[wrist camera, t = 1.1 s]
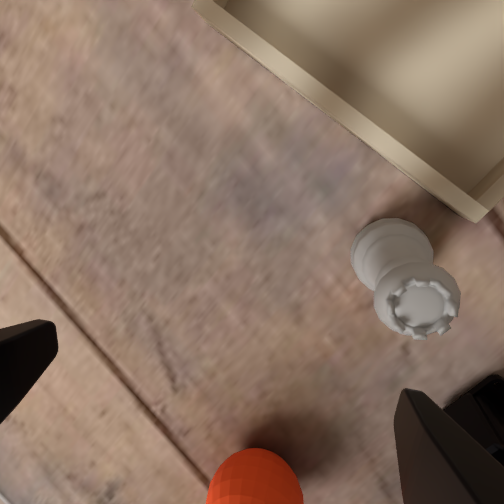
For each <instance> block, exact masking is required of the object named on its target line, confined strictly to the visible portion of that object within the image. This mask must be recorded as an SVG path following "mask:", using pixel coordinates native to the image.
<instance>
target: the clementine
mask: <svg viewBox="0 0 504 504" xmlns="http://www.w3.org/2000/svg"><path fill="white" fill-rule="evenodd" d="M206 504H304V503H303V494H302V491H301V488H300V485H299V482H298V479H297V477H296V475H295V473H294V472H293V471H292V469H291V468H290V466H289V465H288V464H287V463H286V462H285V461H284V460H283V459H282V458H281V457H280V456H278V455H277V454H275V453H273V452H271V451H268V450H266V449H261V448H248V449H245V450H242V451H240V452H237V453H234V454H233V455H231V456H230V457H229V458H227V459H226V460H225V461H224V462H223V463H222V464H221V465H220V467H219V468H218V470H217V471H216V473H215V475H214V477H213V479H212V481H211V482H210V486H209V491H208V495H207V500H206Z"/></svg>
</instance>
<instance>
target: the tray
mask: <svg viewBox="0 0 504 504" xmlns="http://www.w3.org/2000/svg"><path fill="white" fill-rule="evenodd" d="M192 8H193V9H194V10H195V11H196V12H197V13H198V15H199V16H200V17H201V18H202V19H203V20H204V21H205V22H206V23H207V24H208V25H210V26H211V27H212V28H214V29H215V30H216V31H218V32H219V33H220V34H222V35H223V36H224V37H225V38H227V39H228V40H229V41H231V42H232V43H233V44H235V45H236V46H237V47H239V48H240V49H241V50H243V51H244V52H245V53H246V54H248V55H249V56H250V57H252V58H253V59H254V60H256V61H257V62H258V63H260V64H261V65H262V66H264V67H265V68H266V69H267V70H269V71H270V72H271V73H273V74H274V75H275V76H277V77H278V78H279V79H281V80H282V81H283V82H285V83H286V84H287V85H289V86H290V87H291V88H292V89H294V90H295V91H296V92H298V93H299V94H300V95H302V96H303V97H304V98H306V99H307V100H308V101H310V102H311V103H312V104H313V105H315V106H316V107H317V108H319V109H320V110H321V111H323V112H324V113H325V114H327V115H328V116H329V117H331V118H332V119H333V120H334V121H336V122H337V123H338V124H340V125H341V126H342V127H344V128H345V129H346V130H348V131H349V132H350V133H352V134H353V135H354V136H355V137H357V138H358V139H359V140H361V141H362V142H363V143H365V144H366V145H367V146H369V147H370V148H371V149H373V150H374V151H375V152H377V153H378V154H379V155H380V156H382V157H383V158H384V159H386V160H387V161H388V162H390V163H391V164H392V165H394V166H395V167H396V168H398V169H399V170H400V171H401V172H403V173H404V174H405V175H407V176H408V177H409V178H411V179H412V180H413V181H415V182H416V183H417V184H419V185H420V186H421V187H422V188H424V189H425V190H426V191H428V192H429V193H430V194H432V195H433V196H434V197H436V198H437V199H438V200H440V201H441V202H442V203H444V204H445V205H446V206H447V207H449V208H450V209H451V210H453V211H454V212H455V213H457V214H458V215H459V216H461V217H463V218H465V219H467V220H469V221H472V222H474V223H477V222H478V221H479V220H480V219H481V218H482V217H484V216H485V215H486V214H487V213H488V212H489V211H490V210H491V209H492V208H493V207H494V206H495V205H496V204H497V203H498V202H499V201H500V200H501V199H502V198H503V197H504V0H195V1H194V3H193V5H192Z"/></svg>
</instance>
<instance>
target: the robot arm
mask: <svg viewBox="0 0 504 504" xmlns="http://www.w3.org/2000/svg"><path fill="white" fill-rule="evenodd" d="M57 352H58V340H57V332H56V326H55V324H54V323H53V322H51V321H46V320H41V319H37V320H33V321H29V322H25V323H21V324H17V325H14V326H10V327H6V328H2V329H0V424H1V423H2V422H3V421H4V420H5V419H6V418H7V416H8V415H9V414H10V413H11V412H12V411H13V410H14V409H15V408H16V406H17V405H18V404H19V403H20V402H21V400H22V399H23V398H24V397H25V395H26V394H27V393H28V391H29V390H30V389H31V388H32V386H33V385H34V384H35V383H36V381H37V380H38V379H39V377H40V376H41V375H42V374H43V372H44V371H45V370H46V368H47V367H48V366H49V365H50V363H51V362H52V361H53V360H54V358H55V357H56V355H57ZM496 382H499V384H498V385H493V384H494V383H496ZM394 432H395V440H396V449H397V457H398V465H399V473H400V481H401V489H402V496H403V501H404V504H504V378H502V377H501V376H499V375H491V376H489V377H487V378H486V379H485V380H483V381H482V382H481V383H479V384H478V385H477V386H475V387H474V388H473V389H471V390H470V391H469V392H467V393H466V394H465V395H463V396H462V397H461V398H459V399H458V400H457V401H455V402H454V403H453V404H451V405H450V406H449V407H447V408H446V409H445V410H442V409H441V408H440V407H439V406H438V405H437V404H436V403H434V402H433V401H432V400H431V399H430V398H429V397H428V396H427V395H426V394H425V393H423V392H422V391H418V390H413V389H407V388H405V389H403V390H402V391H401V394H400V397H399V401H398V404H397V408H396V412H395V416H394Z"/></svg>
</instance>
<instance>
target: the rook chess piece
mask: <svg viewBox="0 0 504 504" xmlns="http://www.w3.org/2000/svg"><path fill="white" fill-rule="evenodd" d="M433 252H434V251H433V249H432V246H431V244H430V242H429V239H428V237H427V236H426V235H425V233H424V232H423V231H422V230H421V229H419V228H418V227H417V226H416V225H415V224H414V223H412V222H409V221H406V220H403V219H400V218H386V219H380V220H378V221H375V222H373V223H371V224H368V225H367V226H366V227H365V228H364V229H363V230H362V231H361V232H360V233H359V234H358V235H356V238H355V240H354V242H353V245H352V247H351V264H352V266H353V268H354V270H355V273H356V275H357V277H358V279H359V280H360V281H361V282H362V283H363V284H364V285H366V286H367V287H368V288H369V289H370V290H373V291H374V308H375V310H376V312H377V315H378V317H379V319H380V320H381V321H382V322H383V323H384V324H385V325H386V326H388V327H389V328H390V329H391V330H393V331H396V332H399V333H400V334H404V335H412V337H413V339H418V340H427V334H430V333H433V332H438V333H439V334H440V336H441V335H442V334H444V333H445V332H447V331H448V330H449V329H451V327H450V325H449V323H450V322H451V321H452V320H453V318H454V316H455V317H458V309H459V307H460V295H461V293H460V290H459V288H458V285H457V283H456V281H455V279H454V278H453V277H452V276H451V275H450V274H449V273H448V272H447V271H445V270H444V269H443V268H441V267H439V266H436V265H433Z"/></svg>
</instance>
